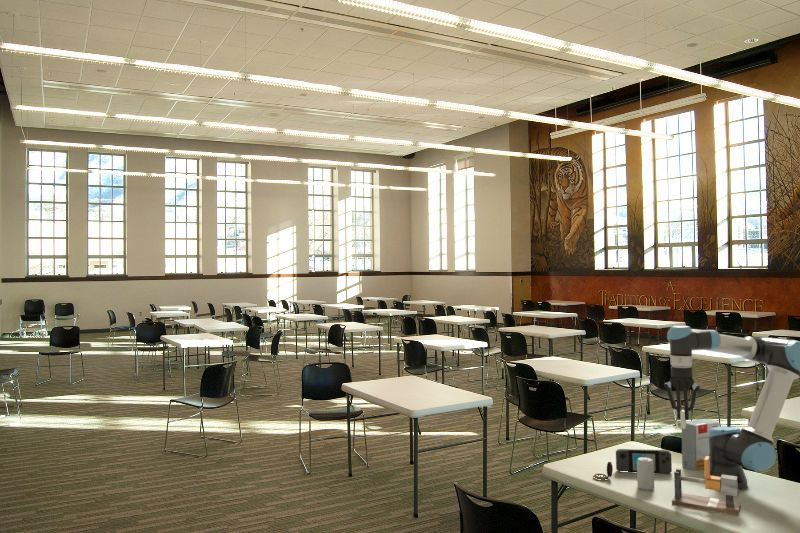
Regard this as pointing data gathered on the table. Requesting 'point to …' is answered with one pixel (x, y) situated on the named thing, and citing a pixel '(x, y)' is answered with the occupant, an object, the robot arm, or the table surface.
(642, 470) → the beverage can
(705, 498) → the cord board
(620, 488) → the table surface
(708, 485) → the orange l-shaped block
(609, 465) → the compass
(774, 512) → the table surface
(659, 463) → the handheld gaming console
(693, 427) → the hard drive box
